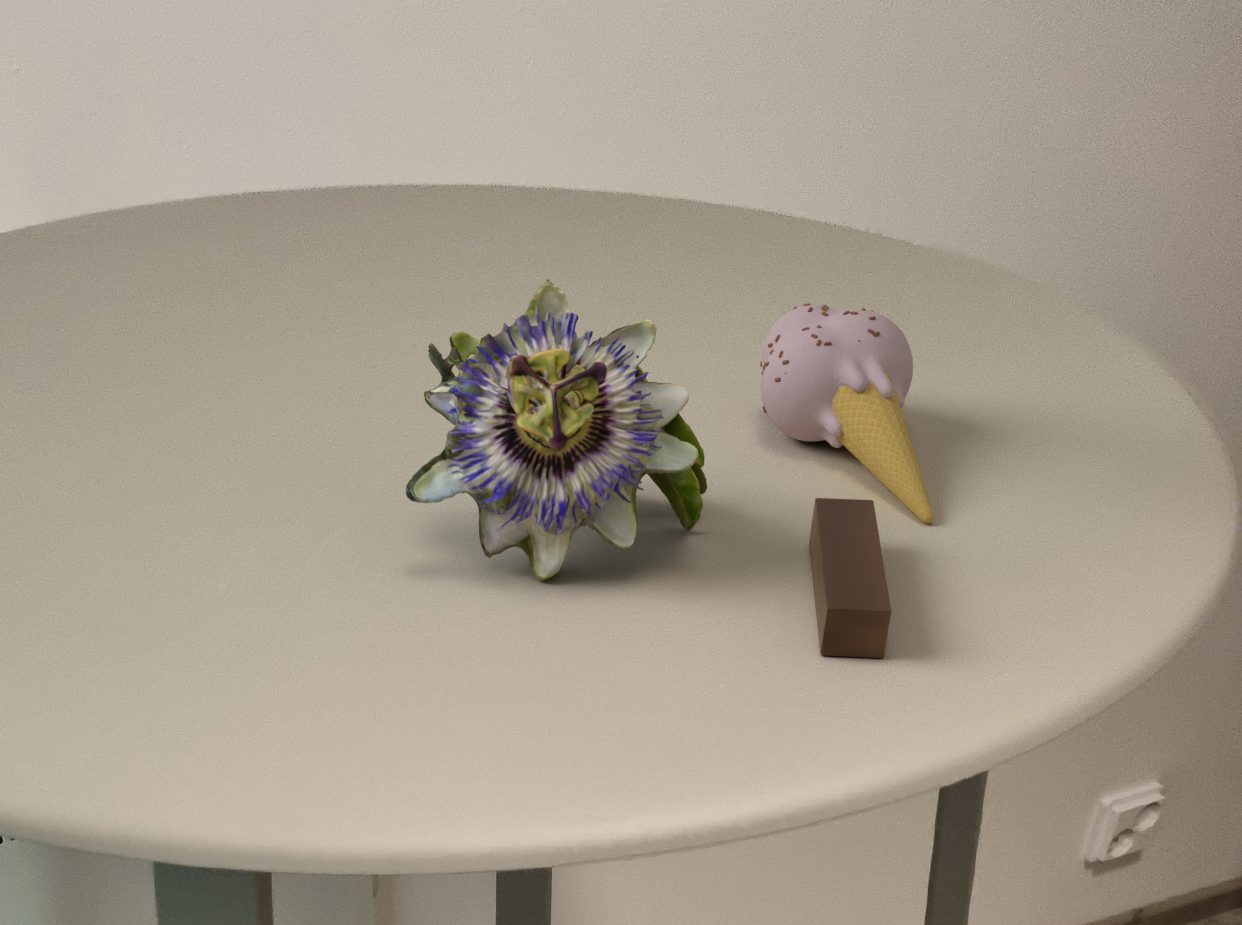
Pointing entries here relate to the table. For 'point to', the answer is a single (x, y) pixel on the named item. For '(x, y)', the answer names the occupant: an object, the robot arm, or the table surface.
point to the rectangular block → (849, 579)
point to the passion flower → (558, 434)
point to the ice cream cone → (846, 391)
